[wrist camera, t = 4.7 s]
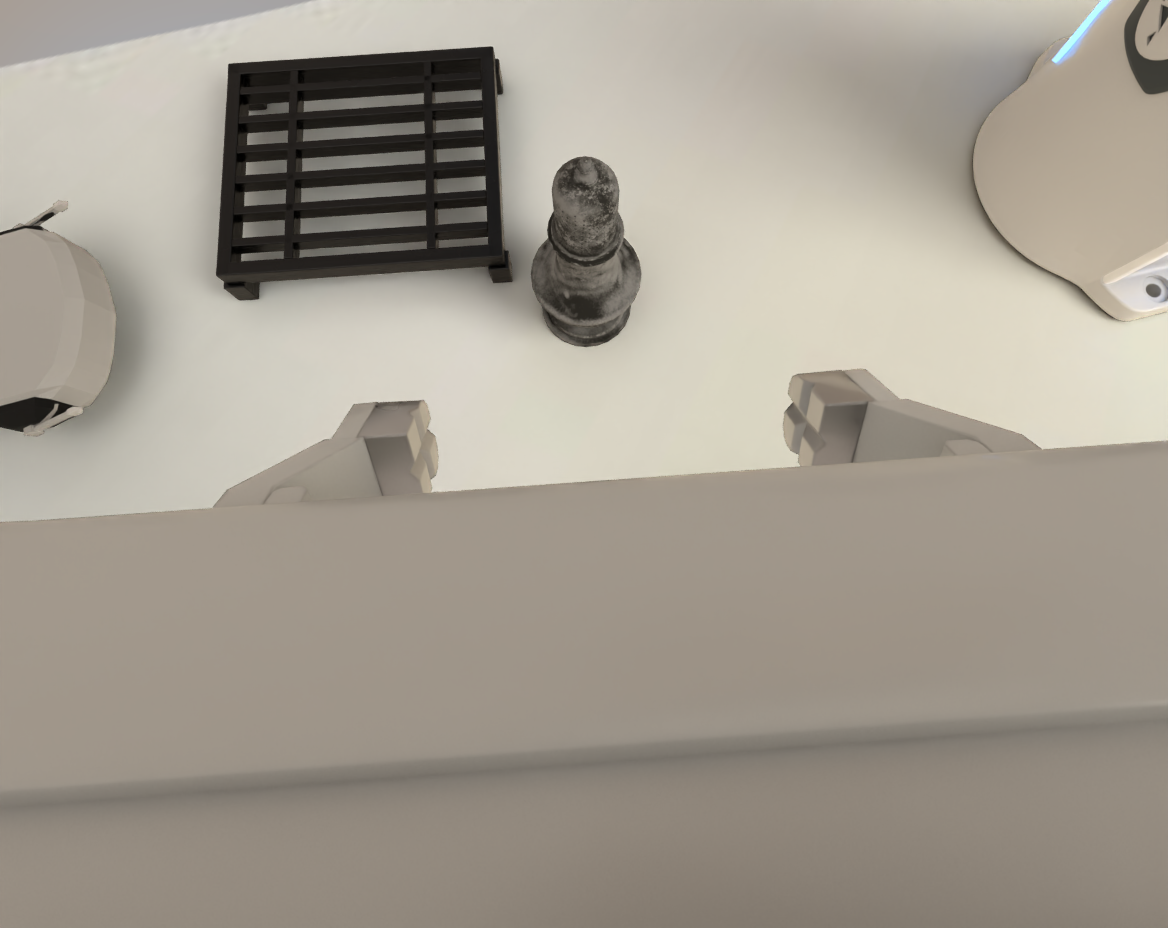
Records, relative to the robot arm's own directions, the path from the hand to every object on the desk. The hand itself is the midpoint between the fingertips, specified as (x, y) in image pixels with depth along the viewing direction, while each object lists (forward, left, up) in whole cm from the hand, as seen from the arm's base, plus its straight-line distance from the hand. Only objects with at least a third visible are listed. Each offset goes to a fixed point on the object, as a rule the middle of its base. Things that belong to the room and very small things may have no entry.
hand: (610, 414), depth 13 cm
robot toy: (+33, -11, -19) cm, 40 cm away
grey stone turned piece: (0, -12, -19) cm, 22 cm away
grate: (+12, -21, -19) cm, 31 cm away
